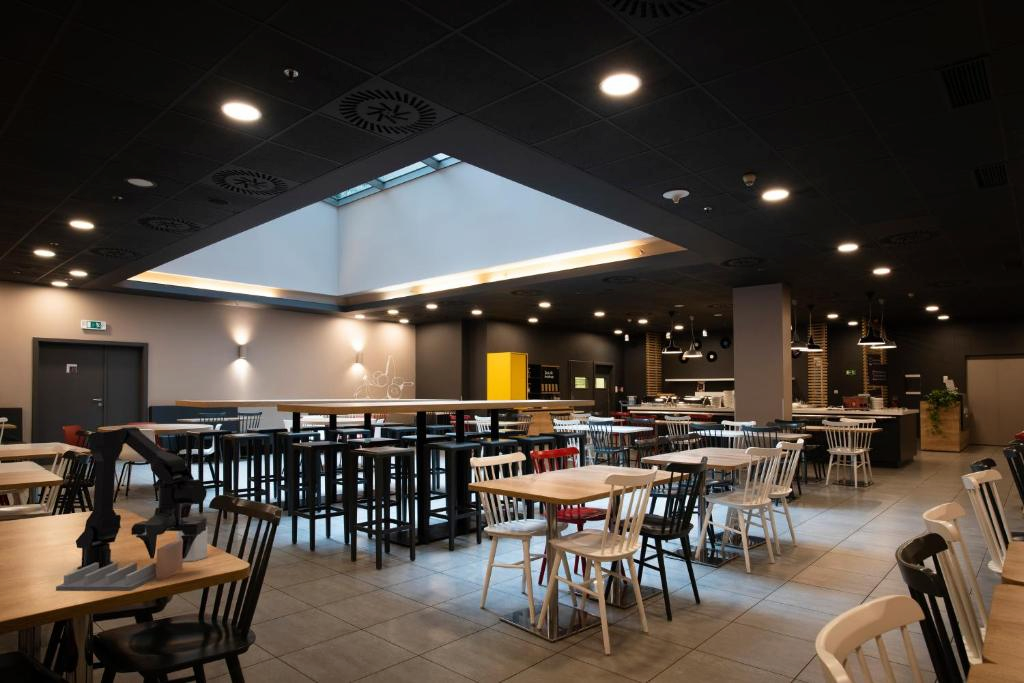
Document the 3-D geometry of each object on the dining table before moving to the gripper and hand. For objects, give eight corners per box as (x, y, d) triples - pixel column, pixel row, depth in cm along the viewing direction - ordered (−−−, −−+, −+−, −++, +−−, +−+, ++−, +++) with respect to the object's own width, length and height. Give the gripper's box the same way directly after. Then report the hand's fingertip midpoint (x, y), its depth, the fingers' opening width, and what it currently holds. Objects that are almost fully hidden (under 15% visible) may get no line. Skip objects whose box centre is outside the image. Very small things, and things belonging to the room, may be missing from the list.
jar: (194, 553, 201) (195, 514, 202) (213, 555, 197) (214, 516, 198) (169, 560, 193) (170, 520, 193) (187, 563, 189) (189, 522, 190)
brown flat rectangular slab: (156, 578, 174) (157, 549, 175) (173, 569, 183) (174, 541, 184) (165, 578, 174) (166, 549, 175) (182, 569, 183) (183, 541, 184)
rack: (55, 590, 165) (56, 576, 165) (93, 574, 179) (93, 561, 179) (131, 590, 164) (131, 576, 164) (162, 574, 178) (162, 561, 178)
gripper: (119, 508, 173) (117, 566, 171) (186, 508, 172) (185, 566, 171) (144, 500, 184) (142, 555, 183) (207, 500, 183) (206, 555, 182)
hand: (168, 558), depth 179 cm, fingers open, 9 cm apart
